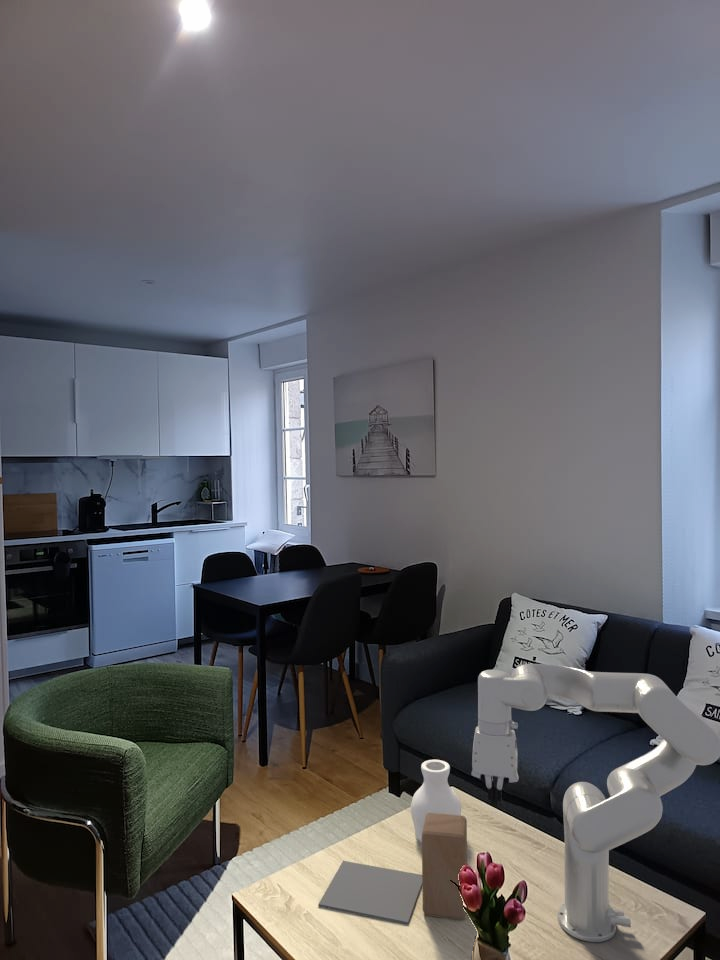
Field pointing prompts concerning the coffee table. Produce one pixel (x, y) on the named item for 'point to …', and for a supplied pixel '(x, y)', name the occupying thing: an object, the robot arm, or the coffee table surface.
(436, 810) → the vase
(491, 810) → the coffee table surface
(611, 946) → the coffee table surface
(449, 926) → the coffee table surface
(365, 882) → the mat
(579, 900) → the robot arm
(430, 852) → the block
